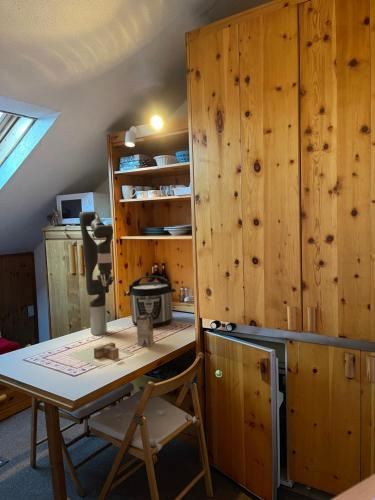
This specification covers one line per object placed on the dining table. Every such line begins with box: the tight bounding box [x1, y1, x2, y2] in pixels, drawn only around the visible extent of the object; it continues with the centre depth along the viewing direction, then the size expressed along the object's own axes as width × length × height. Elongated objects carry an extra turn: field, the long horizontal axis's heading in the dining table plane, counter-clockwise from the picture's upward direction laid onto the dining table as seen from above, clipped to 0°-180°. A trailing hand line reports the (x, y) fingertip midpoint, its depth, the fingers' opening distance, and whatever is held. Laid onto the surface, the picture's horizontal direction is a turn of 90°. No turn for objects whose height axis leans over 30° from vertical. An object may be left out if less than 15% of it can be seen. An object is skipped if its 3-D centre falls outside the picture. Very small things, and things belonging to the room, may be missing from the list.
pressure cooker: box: [125, 275, 176, 328], centre depth 252 cm, size 30×28×32 cm
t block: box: [94, 342, 119, 361], centre depth 189 cm, size 10×11×5 cm
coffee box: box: [136, 315, 155, 349], centre depth 208 cm, size 9×6×16 cm
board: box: [66, 343, 134, 369], centre depth 194 cm, size 27×22×1 cm
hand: (106, 292), depth 211 cm, fingers closed
